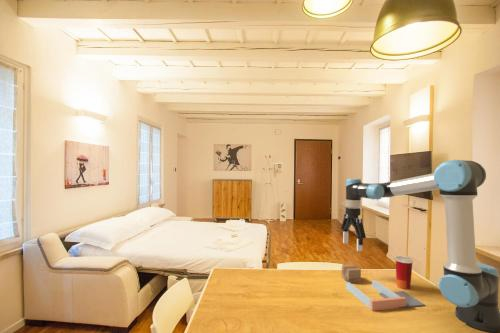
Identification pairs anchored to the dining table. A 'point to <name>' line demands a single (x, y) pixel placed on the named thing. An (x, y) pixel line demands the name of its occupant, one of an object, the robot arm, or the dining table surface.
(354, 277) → the block
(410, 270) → the coffee cup
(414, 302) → the coaster
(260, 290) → the dining table surface
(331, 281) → the dining table surface
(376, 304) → the channel
